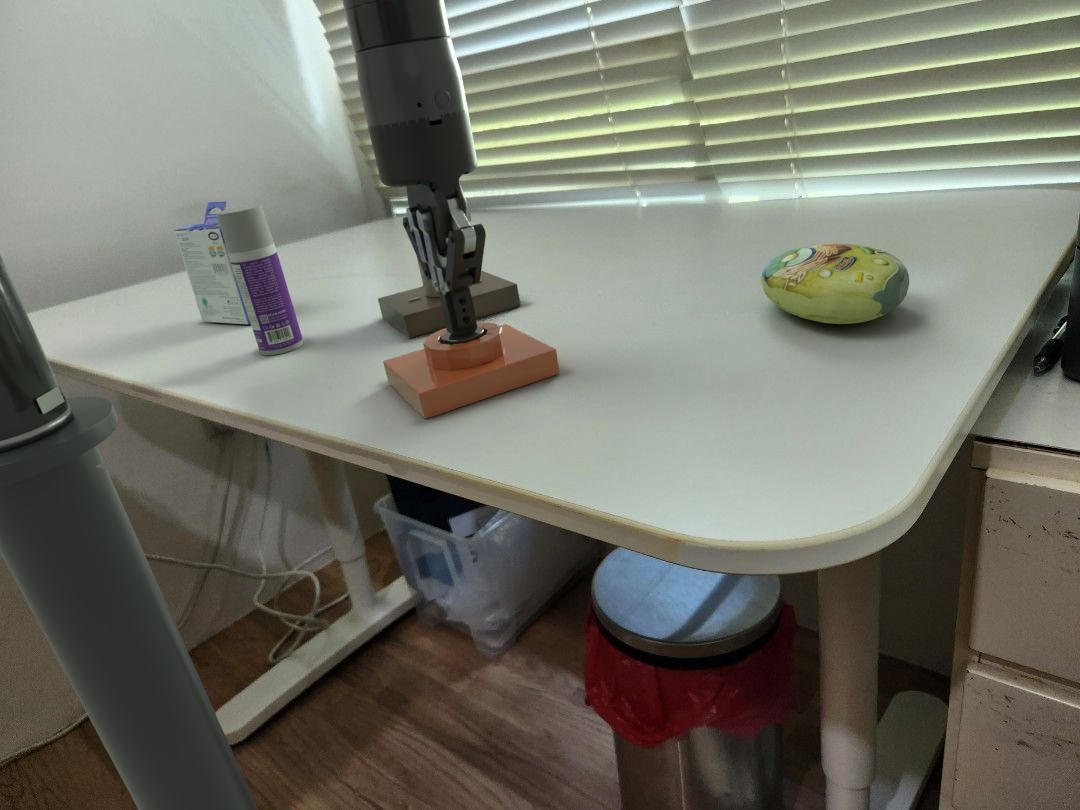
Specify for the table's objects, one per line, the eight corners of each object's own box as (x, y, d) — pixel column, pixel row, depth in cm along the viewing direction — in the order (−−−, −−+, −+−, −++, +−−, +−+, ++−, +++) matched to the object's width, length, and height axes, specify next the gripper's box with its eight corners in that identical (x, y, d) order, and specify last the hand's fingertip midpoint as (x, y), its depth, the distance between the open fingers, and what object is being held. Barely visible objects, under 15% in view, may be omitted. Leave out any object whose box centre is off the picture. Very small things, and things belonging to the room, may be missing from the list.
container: (311, 338, 83) (271, 201, 77) (290, 353, 79) (246, 210, 73) (274, 341, 84) (232, 207, 78) (251, 356, 80) (205, 216, 74)
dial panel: (409, 338, 77) (403, 314, 76) (382, 319, 86) (377, 297, 85) (520, 305, 82) (516, 282, 81) (485, 290, 90) (481, 268, 89)
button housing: (425, 419, 58) (413, 371, 56) (388, 383, 66) (377, 341, 64) (560, 373, 62) (553, 328, 60) (509, 345, 70) (502, 305, 69)
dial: (472, 289, 82) (461, 236, 79) (433, 299, 80) (421, 246, 78) (457, 282, 86) (447, 231, 83) (419, 292, 84) (408, 241, 82)
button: (454, 364, 61) (449, 343, 60) (439, 353, 64) (434, 334, 63) (493, 351, 62) (490, 331, 61) (477, 341, 65) (473, 322, 65)
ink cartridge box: (284, 311, 96) (250, 197, 90) (249, 326, 92) (211, 207, 86) (236, 309, 101) (201, 201, 96) (201, 323, 97) (162, 211, 92)
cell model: (805, 321, 57) (736, 220, 68) (811, 387, 63) (746, 284, 73) (946, 270, 56) (853, 175, 67) (939, 342, 62) (854, 244, 72)
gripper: (346, 123, 60) (397, 328, 67) (394, 119, 48) (449, 366, 55) (434, 107, 62) (474, 306, 69) (498, 100, 51) (538, 337, 58)
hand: (463, 332), depth 62 cm, fingers closed
